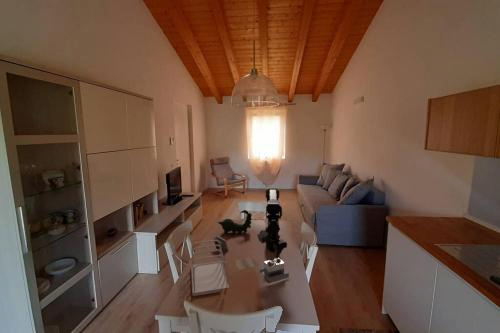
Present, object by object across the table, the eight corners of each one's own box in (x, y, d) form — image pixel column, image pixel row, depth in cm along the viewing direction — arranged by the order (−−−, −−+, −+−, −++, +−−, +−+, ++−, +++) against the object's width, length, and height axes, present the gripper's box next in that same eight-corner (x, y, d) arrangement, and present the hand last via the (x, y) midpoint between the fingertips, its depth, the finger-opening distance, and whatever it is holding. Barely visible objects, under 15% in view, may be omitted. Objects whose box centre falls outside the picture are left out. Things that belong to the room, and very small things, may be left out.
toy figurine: (249, 231, 190) (217, 230, 187) (251, 208, 187) (219, 206, 184) (250, 237, 181) (216, 235, 178) (252, 212, 178) (218, 210, 175)
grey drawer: (264, 271, 131) (264, 260, 130) (278, 267, 135) (278, 256, 134) (269, 277, 126) (269, 265, 125) (284, 273, 130) (284, 261, 129)
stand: (251, 259, 147) (251, 256, 147) (258, 267, 138) (258, 265, 138) (232, 263, 142) (232, 261, 142) (239, 272, 133) (239, 270, 133)
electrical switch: (229, 252, 155) (228, 238, 153) (223, 255, 152) (221, 242, 150) (220, 247, 162) (219, 234, 160) (214, 250, 159) (212, 237, 157)
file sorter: (229, 291, 118) (228, 261, 116) (192, 297, 114) (191, 266, 111) (221, 263, 142) (221, 238, 140) (191, 268, 138) (190, 242, 135)
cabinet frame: (278, 267, 138) (278, 263, 137) (288, 277, 129) (288, 273, 128) (259, 273, 133) (259, 268, 132) (268, 283, 124) (269, 278, 123)
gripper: (251, 222, 133) (251, 249, 135) (268, 236, 116) (268, 266, 119) (269, 219, 137) (268, 244, 140) (288, 231, 121) (287, 260, 123)
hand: (272, 253), depth 130 cm, fingers open, 9 cm apart
